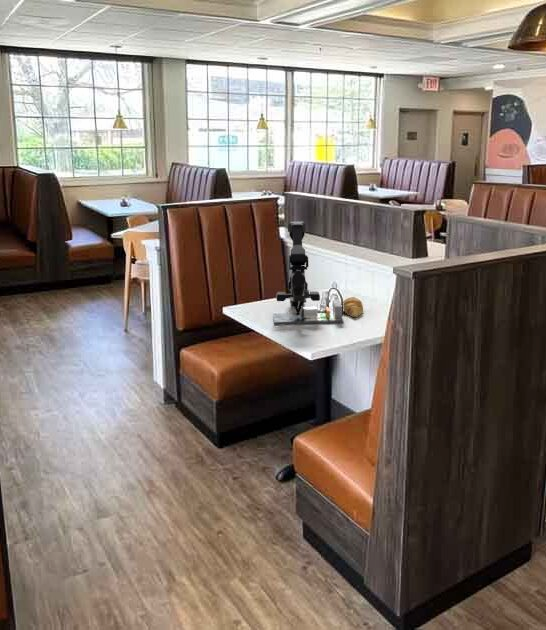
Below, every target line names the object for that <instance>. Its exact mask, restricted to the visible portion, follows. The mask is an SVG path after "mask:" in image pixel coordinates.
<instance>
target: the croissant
mask: <svg viewBox="0 0 546 630" xmlns="http://www.w3.org/2000/svg"><path fill="white" fill-rule="evenodd" d="M342 302H343V303H344V307H345V308H344V309H345V313H344V314H346V313H347V315H348V316H350V317H351V318H357V317H359V316H361V314H362V313H363V312H364V307H363V303H362V301H361V300H360V299H359V298H356V297H354V296H352V297H348V298H346V299H344V300H343V301H342Z"/></svg>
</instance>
